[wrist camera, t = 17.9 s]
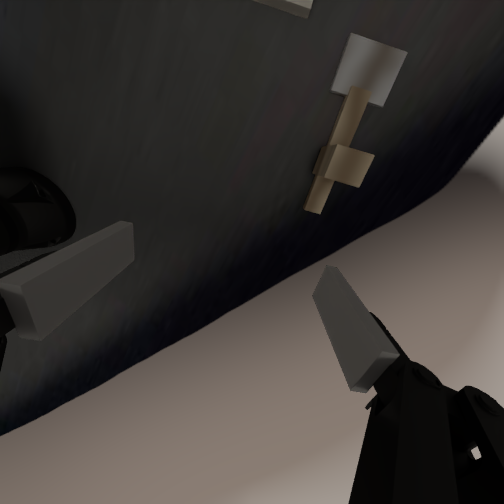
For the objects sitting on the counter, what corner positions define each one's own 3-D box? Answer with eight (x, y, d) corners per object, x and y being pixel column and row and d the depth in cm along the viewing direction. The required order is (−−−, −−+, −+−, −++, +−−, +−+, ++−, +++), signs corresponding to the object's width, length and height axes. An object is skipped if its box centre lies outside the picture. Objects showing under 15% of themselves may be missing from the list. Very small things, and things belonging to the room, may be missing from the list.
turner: (290, 204, 36) (297, 216, 28) (348, 37, 26) (383, -14, 18) (330, 215, 37) (348, 230, 29) (402, 55, 27) (459, 15, 19)
